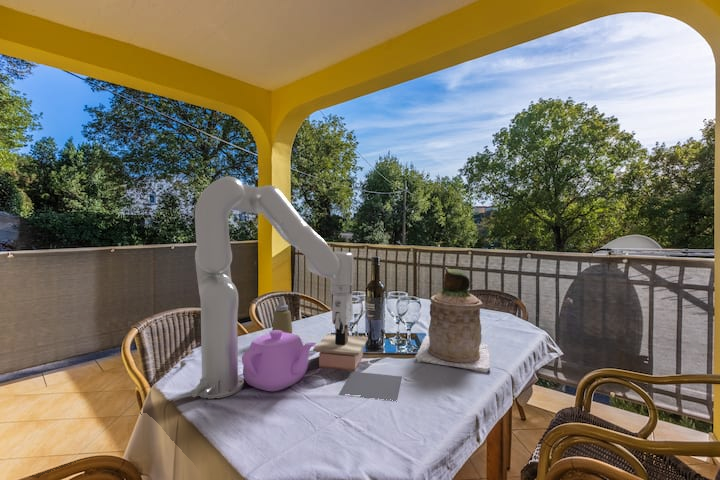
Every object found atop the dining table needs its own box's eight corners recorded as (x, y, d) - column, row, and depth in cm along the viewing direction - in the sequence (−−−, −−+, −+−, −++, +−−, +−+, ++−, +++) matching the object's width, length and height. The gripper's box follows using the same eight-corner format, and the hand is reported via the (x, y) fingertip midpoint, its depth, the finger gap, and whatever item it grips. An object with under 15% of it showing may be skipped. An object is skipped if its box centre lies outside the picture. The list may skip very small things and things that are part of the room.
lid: (358, 355, 105) (358, 337, 105) (313, 351, 108) (313, 333, 108) (367, 339, 120) (368, 323, 119) (327, 336, 123) (327, 320, 122)
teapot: (223, 391, 94) (222, 338, 94) (276, 364, 113) (276, 320, 112) (284, 414, 83) (284, 354, 82) (332, 380, 101) (332, 331, 101)
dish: (355, 372, 107) (355, 356, 107) (319, 368, 110) (319, 353, 109) (362, 357, 119) (363, 343, 118) (330, 354, 121) (330, 340, 121)
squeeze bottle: (290, 344, 131) (289, 298, 130) (269, 344, 131) (269, 298, 130) (294, 337, 139) (294, 294, 138) (275, 337, 139) (274, 294, 138)
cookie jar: (491, 374, 106) (494, 273, 105) (414, 363, 114) (415, 270, 112) (488, 347, 129) (490, 264, 128) (424, 340, 137) (425, 262, 136)
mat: (396, 403, 89) (396, 401, 89) (338, 396, 92) (338, 394, 92) (402, 377, 103) (402, 376, 103) (351, 372, 107) (351, 371, 107)
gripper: (346, 294, 104) (346, 352, 105) (358, 285, 120) (358, 335, 121) (323, 293, 106) (323, 350, 107) (338, 284, 122) (337, 334, 123)
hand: (341, 342), depth 114 cm, fingers closed on lid, 3 cm apart
